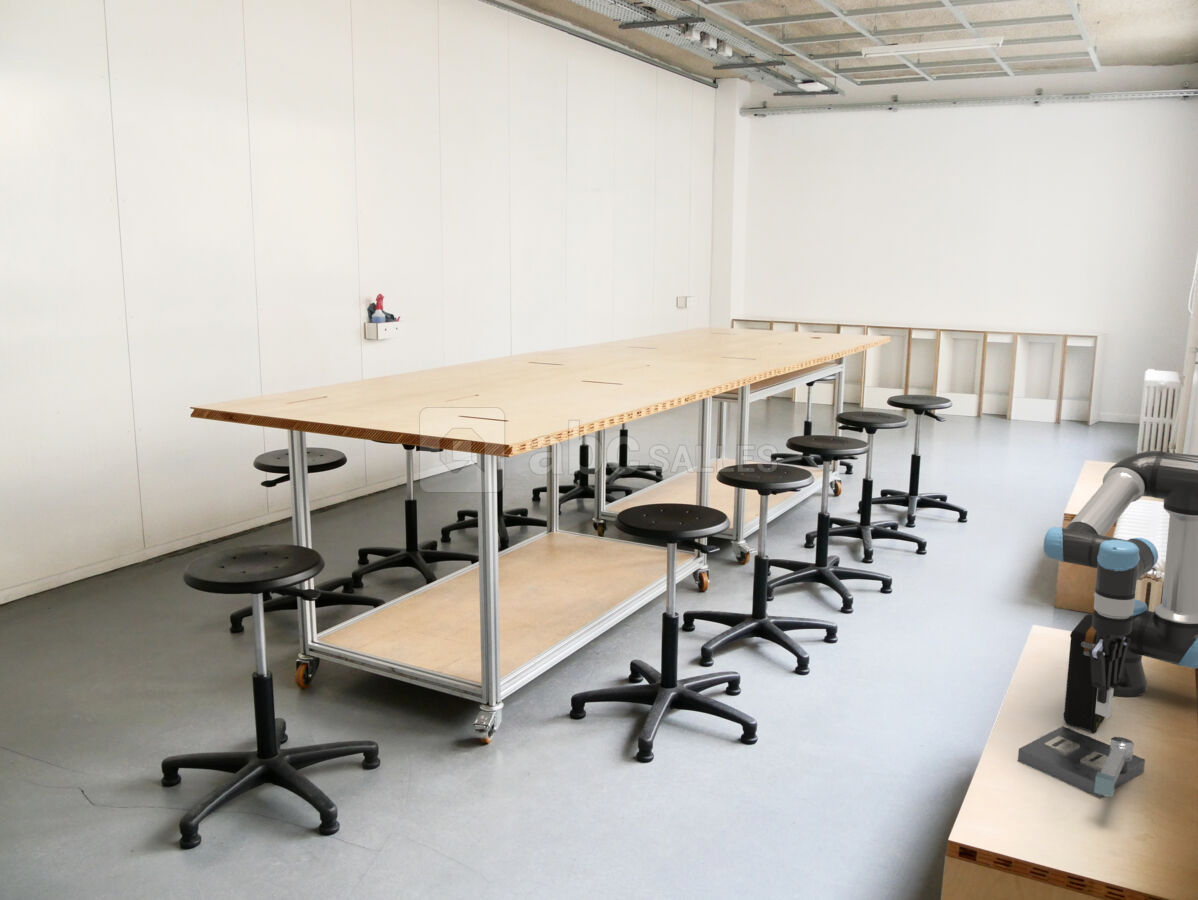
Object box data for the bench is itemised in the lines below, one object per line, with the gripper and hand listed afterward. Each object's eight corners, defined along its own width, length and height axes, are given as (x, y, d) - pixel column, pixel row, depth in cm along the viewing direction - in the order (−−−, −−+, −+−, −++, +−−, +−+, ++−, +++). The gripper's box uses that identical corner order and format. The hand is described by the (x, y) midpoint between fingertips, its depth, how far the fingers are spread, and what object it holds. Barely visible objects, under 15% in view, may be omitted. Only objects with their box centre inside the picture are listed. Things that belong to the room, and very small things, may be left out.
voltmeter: (1098, 736, 227) (1108, 637, 222) (1059, 725, 233) (1068, 629, 228) (1113, 711, 239) (1123, 617, 234) (1076, 702, 245) (1084, 610, 240)
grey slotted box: (1061, 737, 227) (1063, 714, 226) (1145, 772, 211) (1148, 747, 210) (1017, 760, 217) (1019, 736, 216) (1102, 799, 201) (1105, 773, 200)
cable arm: (1090, 791, 193) (1092, 775, 193) (1111, 749, 209) (1112, 734, 209) (1115, 798, 191) (1116, 782, 190) (1134, 755, 207) (1135, 740, 206)
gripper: (1111, 601, 210) (1101, 700, 215) (1079, 614, 203) (1070, 716, 208) (1146, 611, 204) (1135, 712, 209) (1114, 625, 197) (1104, 730, 202)
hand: (1103, 714), depth 208 cm, fingers closed
